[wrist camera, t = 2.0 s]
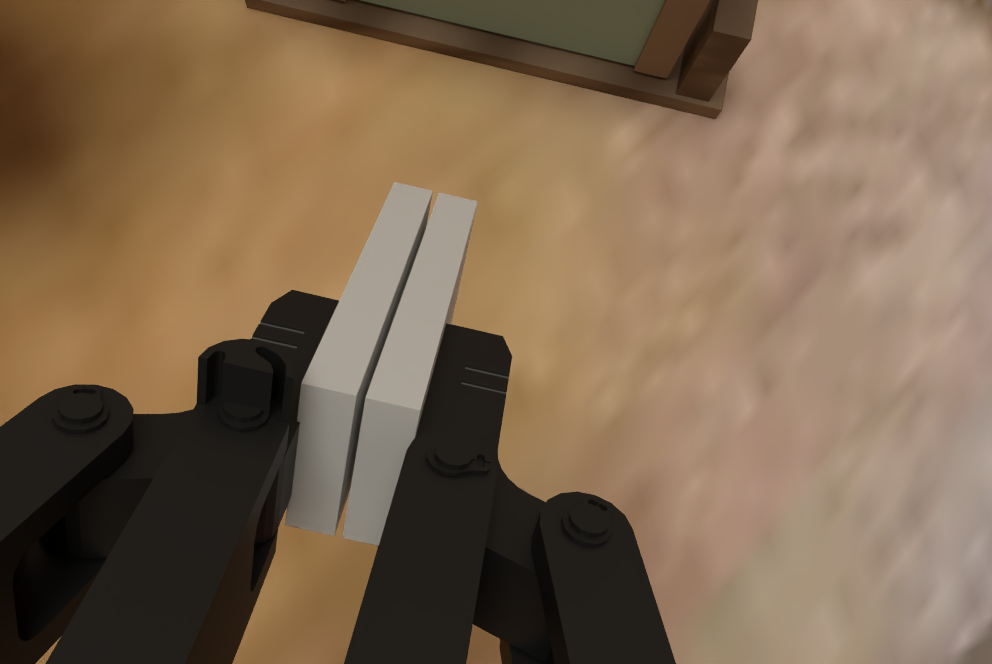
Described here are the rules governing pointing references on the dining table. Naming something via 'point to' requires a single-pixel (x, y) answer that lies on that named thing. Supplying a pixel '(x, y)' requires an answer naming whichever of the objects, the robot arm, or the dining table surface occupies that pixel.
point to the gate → (580, 25)
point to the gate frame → (555, 49)
